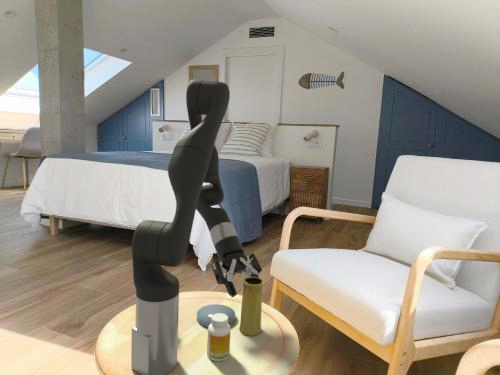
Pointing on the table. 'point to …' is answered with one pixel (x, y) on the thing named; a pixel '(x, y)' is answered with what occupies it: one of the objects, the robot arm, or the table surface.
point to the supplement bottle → (218, 338)
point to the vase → (251, 306)
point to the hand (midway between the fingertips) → (247, 292)
